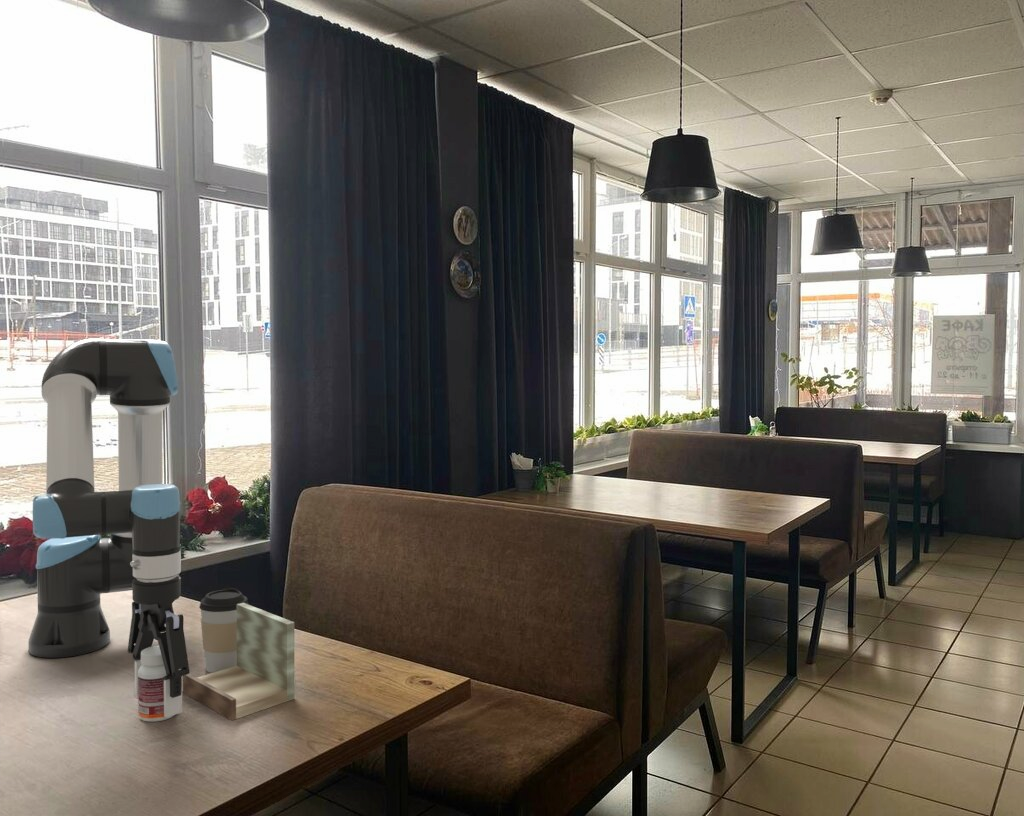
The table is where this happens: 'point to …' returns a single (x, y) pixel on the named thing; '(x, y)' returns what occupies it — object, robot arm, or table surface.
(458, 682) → the table surface
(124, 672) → the table surface
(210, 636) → the coffee cup
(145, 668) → the pill bottle
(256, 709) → the wooden l-shaped piece
